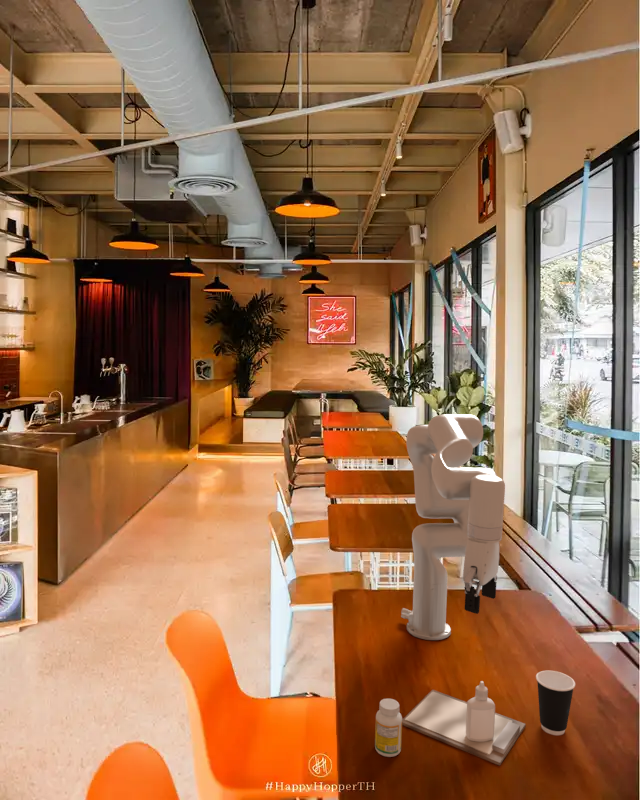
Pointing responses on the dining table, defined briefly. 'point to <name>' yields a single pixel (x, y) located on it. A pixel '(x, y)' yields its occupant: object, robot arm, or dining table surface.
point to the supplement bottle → (388, 728)
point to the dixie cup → (554, 700)
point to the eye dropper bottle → (480, 716)
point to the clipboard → (461, 727)
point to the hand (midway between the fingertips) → (480, 604)
